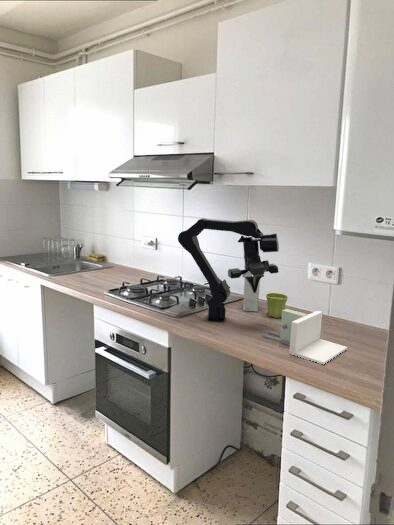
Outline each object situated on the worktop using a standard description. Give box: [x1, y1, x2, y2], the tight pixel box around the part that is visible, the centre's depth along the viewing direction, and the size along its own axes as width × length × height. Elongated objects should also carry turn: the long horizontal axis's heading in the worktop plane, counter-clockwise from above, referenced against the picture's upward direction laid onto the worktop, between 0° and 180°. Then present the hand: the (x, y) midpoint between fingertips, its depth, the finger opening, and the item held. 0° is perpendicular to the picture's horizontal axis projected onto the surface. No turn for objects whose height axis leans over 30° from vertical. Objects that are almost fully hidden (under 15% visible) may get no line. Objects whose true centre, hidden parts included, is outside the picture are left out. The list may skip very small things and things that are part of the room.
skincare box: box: [243, 275, 261, 312], centre depth 182 cm, size 8×7×16 cm
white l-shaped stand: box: [261, 310, 348, 365], centre depth 143 cm, size 27×18×11 cm, turn 48°
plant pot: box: [265, 292, 289, 319], centre depth 175 cm, size 9×9×9 cm
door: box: [279, 308, 308, 343], centre depth 144 cm, size 8×4×11 cm, turn 48°
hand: (254, 292), depth 162 cm, fingers closed
